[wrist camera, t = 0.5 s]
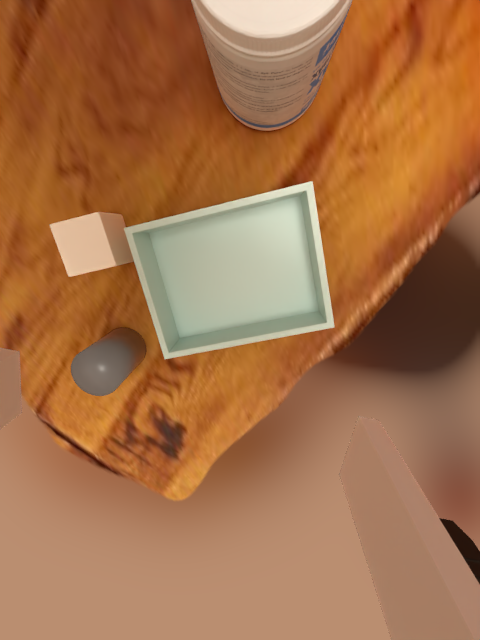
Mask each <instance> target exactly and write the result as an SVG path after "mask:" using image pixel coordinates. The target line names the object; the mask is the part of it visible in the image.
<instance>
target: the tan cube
mask: <svg viewBox="0 0 480 640" xmlns="http://www.w3.org/2000/svg"><path fill="white" fill-rule="evenodd" d="M49 225H50V228H51V231H52V233H53V236H54V239H55V241H56V244H57V247H58V249H59V252H60V255H61V257H62V260H63V263H64V265H65V268H66V271H67V274H68V276H69V277H71V276H75V275H80V274H84V273H88V272H93V271H97V270H101V269H105V268H110V267H114V266H118V265H122V264H126V263H130V262H134V259H133V256H132V253H131V250H130V247H129V243H128V240H127V237H126V234H125V231H124V228H126V226H125V223H124V219H123V216H122V214H114V213H105V212H96V213H92V214H88V215H84V216H80V217H76V218H72V219H69V220H65V221H61V222H57V223H53V224H49Z"/></svg>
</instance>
